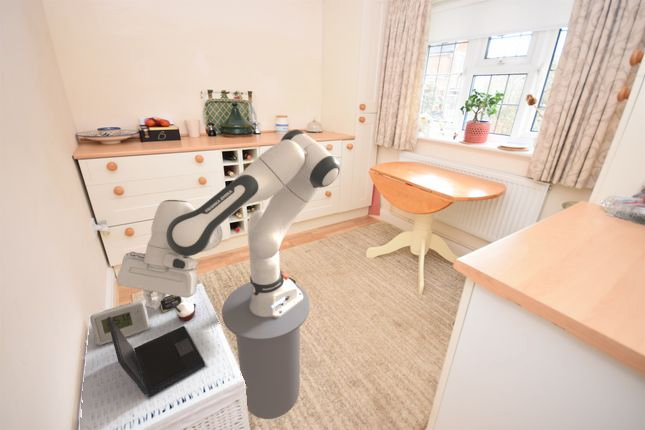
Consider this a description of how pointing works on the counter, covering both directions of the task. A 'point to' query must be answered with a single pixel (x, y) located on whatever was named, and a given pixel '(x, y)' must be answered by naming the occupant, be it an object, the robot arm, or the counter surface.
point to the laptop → (168, 359)
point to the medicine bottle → (174, 299)
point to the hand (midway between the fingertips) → (151, 307)
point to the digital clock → (120, 321)
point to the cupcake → (184, 310)
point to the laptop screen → (126, 356)
